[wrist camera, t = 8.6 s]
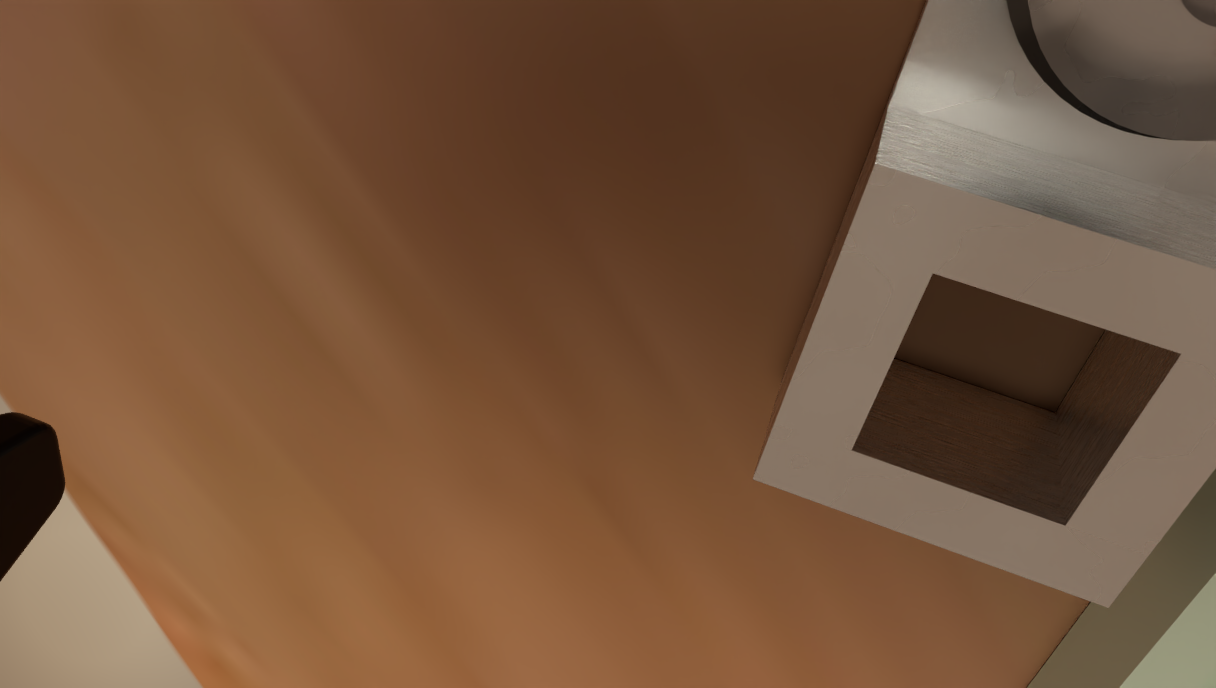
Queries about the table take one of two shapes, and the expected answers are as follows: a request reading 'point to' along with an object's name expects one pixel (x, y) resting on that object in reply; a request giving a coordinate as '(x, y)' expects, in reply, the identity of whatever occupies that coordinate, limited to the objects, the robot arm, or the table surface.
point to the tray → (1151, 617)
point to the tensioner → (1024, 290)
